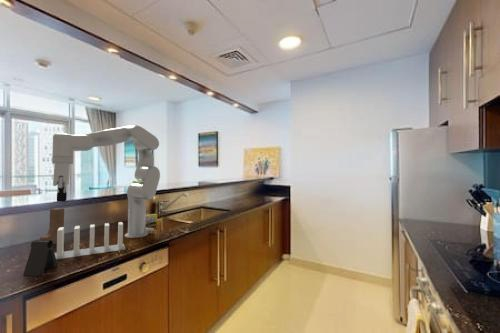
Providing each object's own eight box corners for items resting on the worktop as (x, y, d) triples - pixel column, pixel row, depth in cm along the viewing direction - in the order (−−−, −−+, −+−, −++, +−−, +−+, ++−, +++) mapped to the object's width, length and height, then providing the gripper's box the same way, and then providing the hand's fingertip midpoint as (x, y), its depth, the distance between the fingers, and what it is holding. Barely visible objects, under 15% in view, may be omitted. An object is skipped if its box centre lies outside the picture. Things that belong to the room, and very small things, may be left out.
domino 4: (108, 246, 121) (108, 223, 122) (108, 250, 116) (109, 225, 116) (104, 247, 120) (104, 223, 121) (104, 251, 115) (104, 226, 116)
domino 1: (56, 257, 106) (57, 230, 106) (58, 253, 111) (59, 227, 111) (61, 257, 107) (62, 230, 107) (63, 252, 112) (64, 227, 112)
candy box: (133, 229, 158) (134, 216, 158) (132, 228, 160) (132, 216, 160) (157, 225, 170) (157, 213, 170) (156, 225, 172) (156, 213, 172)
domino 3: (94, 248, 118) (94, 224, 118) (93, 252, 113) (94, 227, 113) (89, 249, 117) (90, 224, 117) (89, 253, 112) (90, 227, 112)
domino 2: (79, 250, 115) (79, 225, 115) (78, 254, 110) (79, 228, 110) (74, 251, 114) (75, 226, 114) (73, 255, 109) (74, 228, 109)
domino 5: (121, 245, 125) (122, 221, 125) (122, 248, 120) (123, 224, 120) (117, 245, 124) (118, 222, 124) (118, 249, 119) (119, 224, 119)
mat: (123, 244, 127) (123, 243, 127) (125, 250, 118) (125, 249, 118) (50, 254, 111) (50, 253, 111) (46, 261, 102) (46, 260, 102)
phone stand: (43, 266, 98) (44, 237, 98) (58, 266, 98) (59, 237, 98) (22, 276, 89) (23, 244, 89) (39, 276, 89) (40, 244, 89)
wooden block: (46, 246, 121) (47, 211, 121) (39, 245, 122) (40, 210, 122) (63, 241, 130) (64, 208, 130) (57, 240, 131) (58, 207, 131)
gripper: (55, 160, 114) (53, 199, 114) (49, 160, 101) (47, 204, 100) (74, 161, 118) (73, 198, 118) (71, 160, 105) (70, 203, 104)
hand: (61, 200), depth 109 cm, fingers closed
